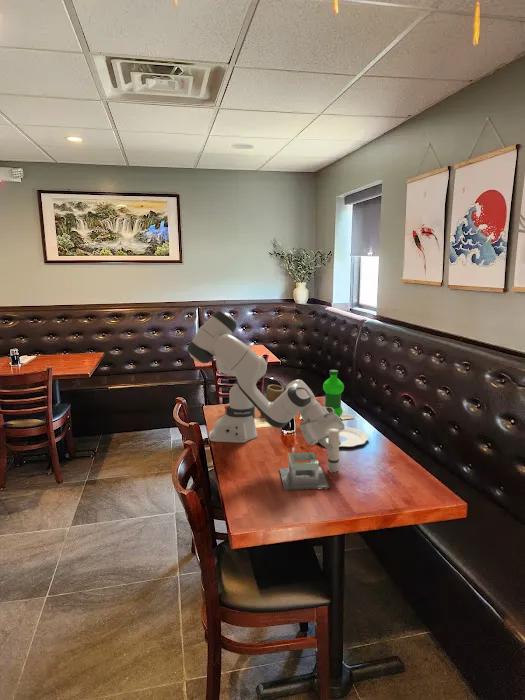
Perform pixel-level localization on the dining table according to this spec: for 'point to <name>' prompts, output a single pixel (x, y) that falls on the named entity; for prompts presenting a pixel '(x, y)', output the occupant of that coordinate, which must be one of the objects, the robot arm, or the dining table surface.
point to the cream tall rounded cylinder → (333, 450)
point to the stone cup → (273, 392)
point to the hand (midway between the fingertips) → (334, 447)
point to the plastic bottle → (333, 392)
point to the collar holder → (303, 473)
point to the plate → (352, 437)
